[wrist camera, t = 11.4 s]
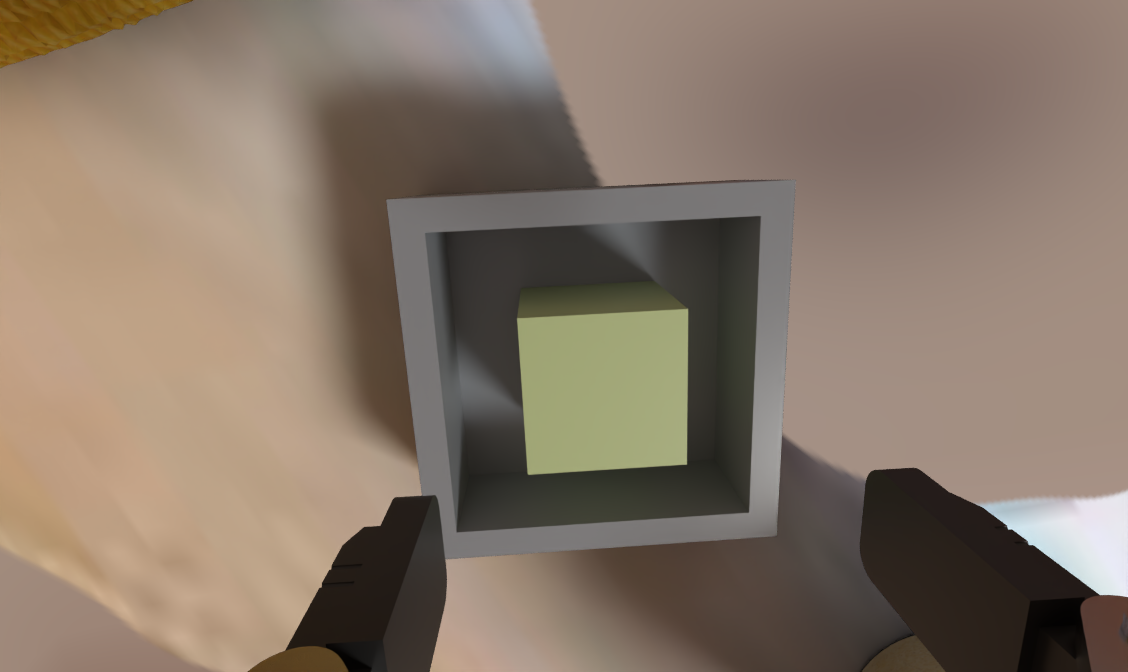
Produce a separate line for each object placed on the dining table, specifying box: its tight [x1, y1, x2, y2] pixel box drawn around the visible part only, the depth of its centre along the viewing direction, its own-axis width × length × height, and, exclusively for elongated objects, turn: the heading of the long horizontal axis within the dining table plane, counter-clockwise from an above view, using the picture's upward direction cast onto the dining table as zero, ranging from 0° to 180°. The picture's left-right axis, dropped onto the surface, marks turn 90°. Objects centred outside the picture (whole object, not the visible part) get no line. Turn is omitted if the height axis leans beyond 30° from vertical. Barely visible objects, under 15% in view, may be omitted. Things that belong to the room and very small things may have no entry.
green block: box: [517, 281, 688, 475], centre depth 20 cm, size 5×5×5 cm
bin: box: [386, 180, 796, 559], centre depth 21 cm, size 12×12×5 cm
